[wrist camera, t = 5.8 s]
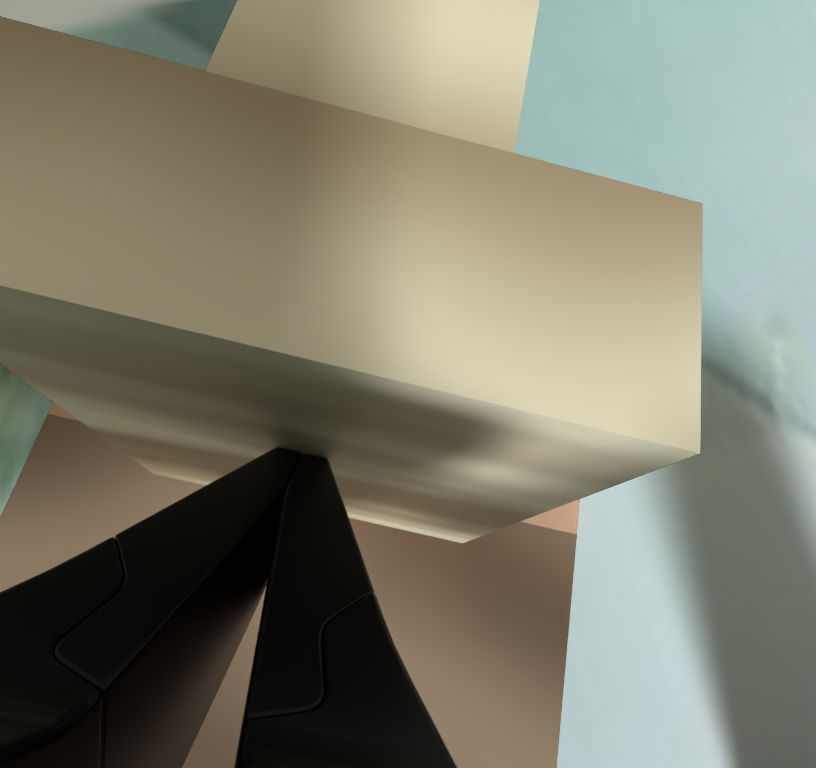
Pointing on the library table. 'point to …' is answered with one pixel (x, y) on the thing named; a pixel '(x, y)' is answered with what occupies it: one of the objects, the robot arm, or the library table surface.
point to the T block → (342, 264)
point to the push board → (393, 586)
